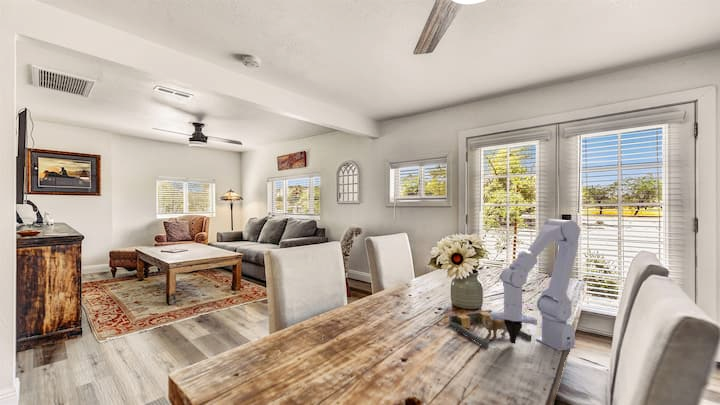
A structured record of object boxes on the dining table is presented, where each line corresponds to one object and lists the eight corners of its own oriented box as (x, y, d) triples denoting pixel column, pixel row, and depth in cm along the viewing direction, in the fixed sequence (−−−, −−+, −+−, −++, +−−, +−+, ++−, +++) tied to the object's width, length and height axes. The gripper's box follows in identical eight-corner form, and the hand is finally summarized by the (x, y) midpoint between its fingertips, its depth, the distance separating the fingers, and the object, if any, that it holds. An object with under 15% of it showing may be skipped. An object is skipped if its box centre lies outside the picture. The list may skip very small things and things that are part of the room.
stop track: (531, 340, 110) (531, 329, 110) (485, 348, 104) (485, 336, 104) (489, 319, 130) (489, 309, 130) (448, 325, 123) (448, 315, 123)
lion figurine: (488, 342, 108) (488, 317, 108) (478, 336, 113) (478, 312, 113) (520, 337, 113) (520, 312, 113) (509, 331, 118) (509, 308, 118)
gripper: (534, 302, 107) (534, 340, 107) (489, 297, 112) (489, 334, 112) (538, 308, 100) (538, 349, 100) (490, 303, 105) (490, 342, 105)
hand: (512, 342), depth 105 cm, fingers closed
